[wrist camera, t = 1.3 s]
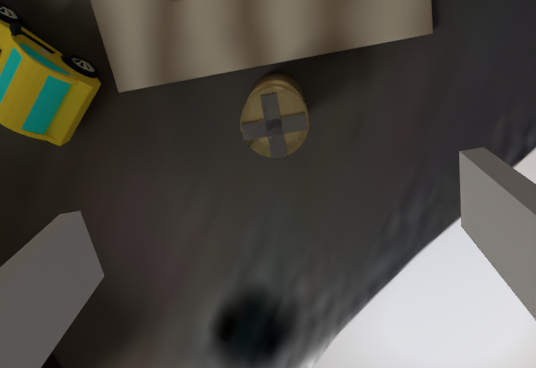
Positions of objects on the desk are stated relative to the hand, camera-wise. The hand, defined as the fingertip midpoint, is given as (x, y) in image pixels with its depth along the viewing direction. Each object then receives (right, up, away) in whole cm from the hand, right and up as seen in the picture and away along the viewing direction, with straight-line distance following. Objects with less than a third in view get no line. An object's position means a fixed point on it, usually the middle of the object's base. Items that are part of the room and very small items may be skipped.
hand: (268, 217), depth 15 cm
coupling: (+1, +8, +20) cm, 22 cm away
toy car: (-19, +11, +20) cm, 30 cm away
